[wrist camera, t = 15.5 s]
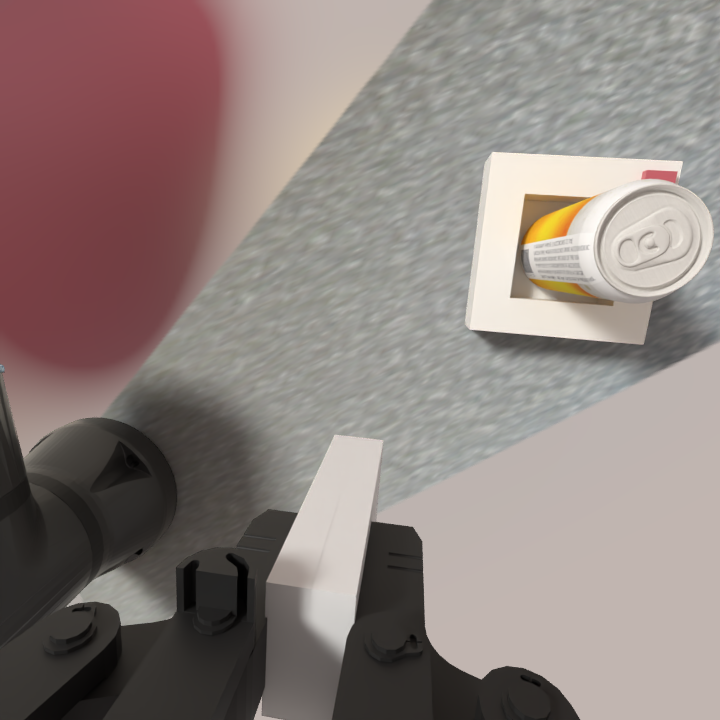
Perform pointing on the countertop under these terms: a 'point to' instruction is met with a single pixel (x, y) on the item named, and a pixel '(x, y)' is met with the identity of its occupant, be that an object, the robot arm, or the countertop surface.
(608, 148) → the countertop surface
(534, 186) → the socket block
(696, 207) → the beer can
